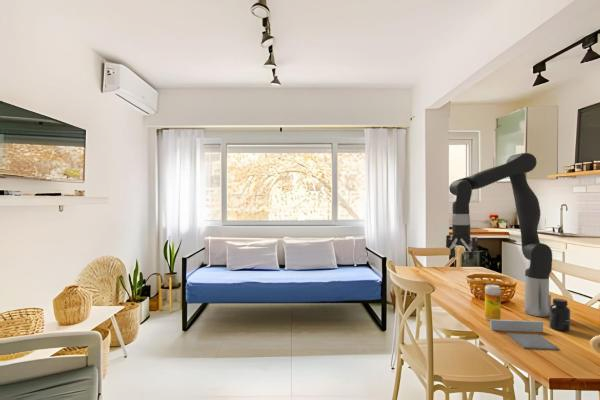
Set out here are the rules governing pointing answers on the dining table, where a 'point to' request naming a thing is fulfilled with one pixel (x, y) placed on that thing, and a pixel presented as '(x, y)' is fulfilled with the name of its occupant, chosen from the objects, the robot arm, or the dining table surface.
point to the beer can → (492, 302)
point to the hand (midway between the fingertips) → (461, 258)
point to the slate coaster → (532, 341)
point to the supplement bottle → (559, 315)
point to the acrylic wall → (516, 325)
